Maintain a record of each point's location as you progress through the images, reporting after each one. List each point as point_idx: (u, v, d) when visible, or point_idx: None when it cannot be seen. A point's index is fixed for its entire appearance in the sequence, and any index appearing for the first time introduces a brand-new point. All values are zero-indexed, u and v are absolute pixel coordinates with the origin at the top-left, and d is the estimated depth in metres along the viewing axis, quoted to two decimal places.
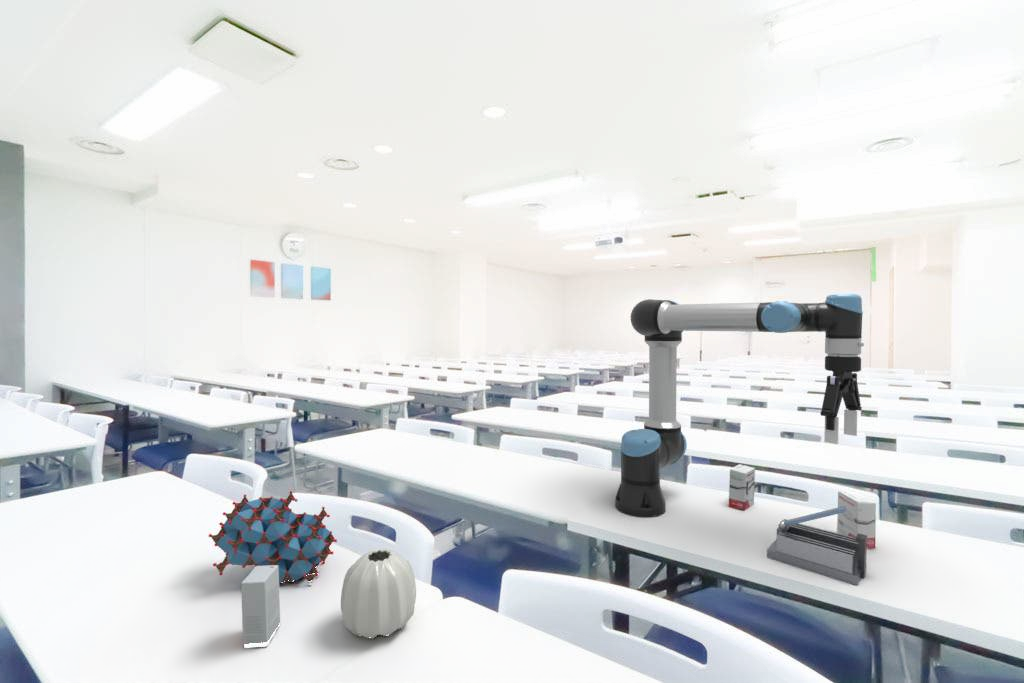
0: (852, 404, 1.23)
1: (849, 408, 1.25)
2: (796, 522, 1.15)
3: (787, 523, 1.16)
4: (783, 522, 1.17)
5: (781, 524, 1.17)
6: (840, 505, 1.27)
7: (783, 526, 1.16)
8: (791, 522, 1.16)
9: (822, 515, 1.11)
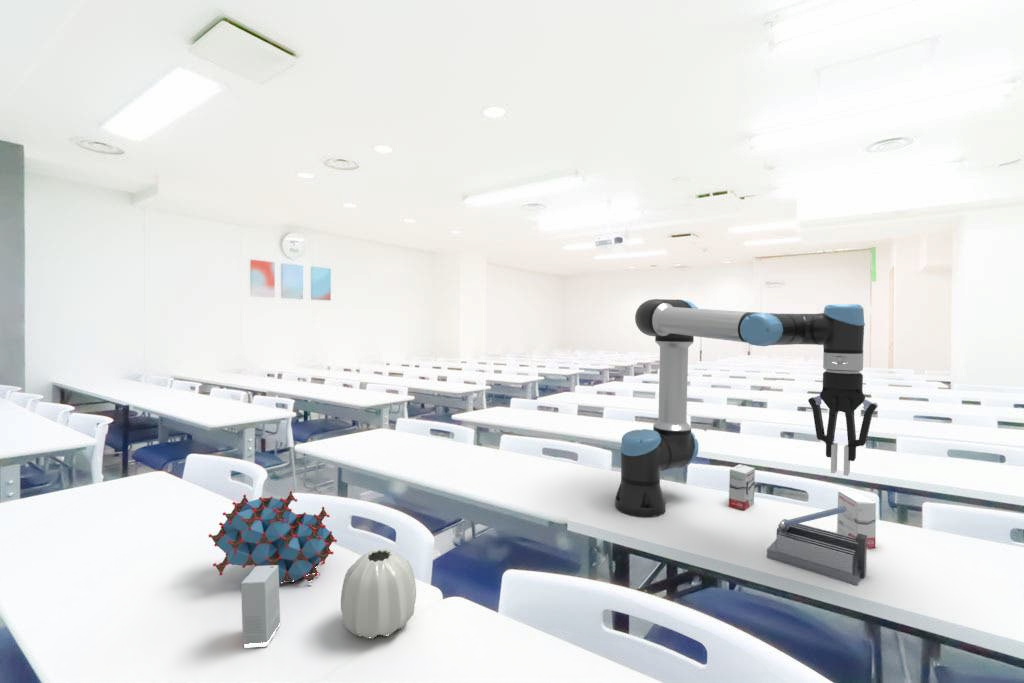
0: (848, 435, 1.08)
1: None
2: (796, 522, 1.15)
3: (787, 523, 1.16)
4: (783, 522, 1.17)
5: (781, 524, 1.17)
6: (840, 505, 1.27)
7: (783, 526, 1.16)
8: (791, 522, 1.16)
9: (822, 515, 1.11)
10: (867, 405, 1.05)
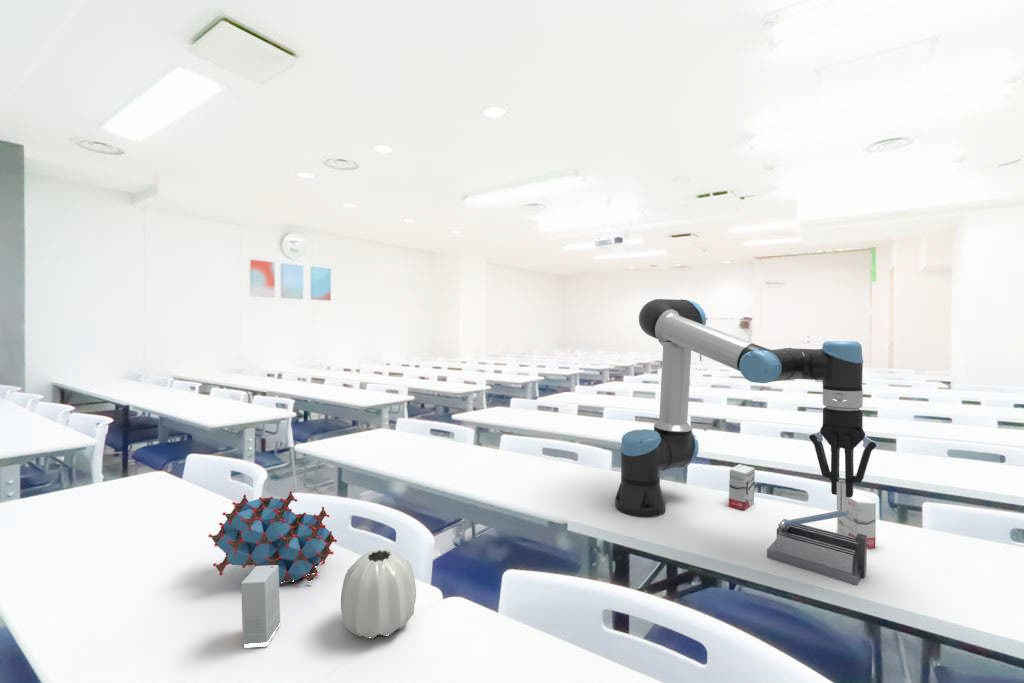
0: None
1: None
2: (796, 523, 1.15)
3: (787, 523, 1.16)
4: (783, 522, 1.17)
5: (781, 524, 1.17)
6: None
7: (783, 526, 1.16)
8: (791, 523, 1.16)
9: (823, 517, 1.11)
10: (867, 443, 1.05)
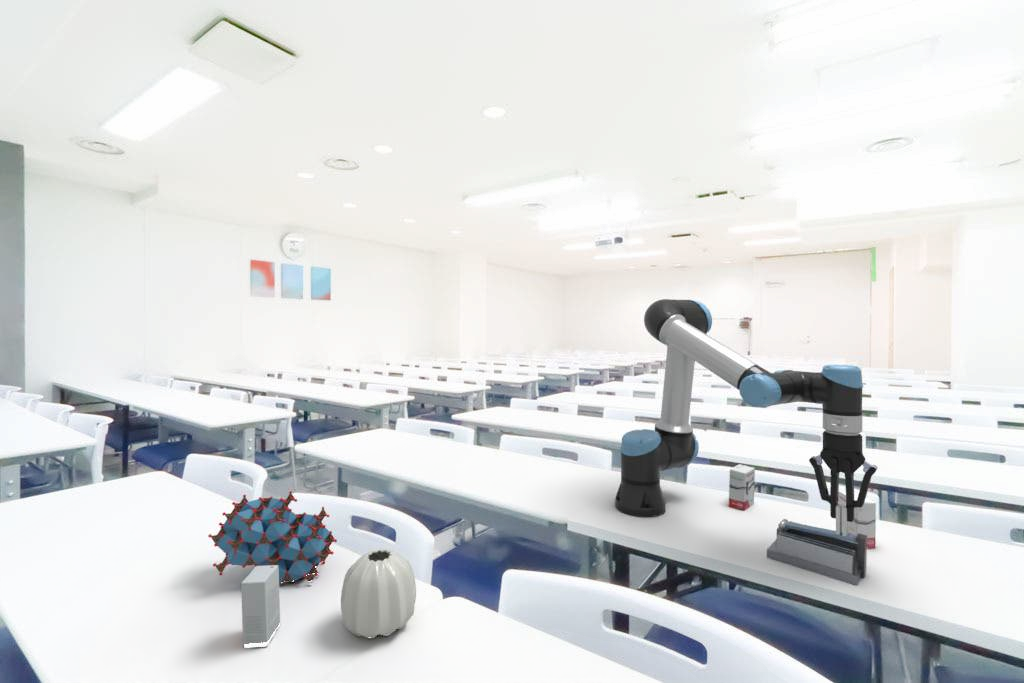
0: None
1: None
2: (798, 529, 1.15)
3: (788, 526, 1.16)
4: (784, 523, 1.17)
5: (782, 524, 1.16)
6: None
7: (783, 527, 1.16)
8: (793, 527, 1.15)
9: (828, 534, 1.10)
10: (867, 467, 1.05)
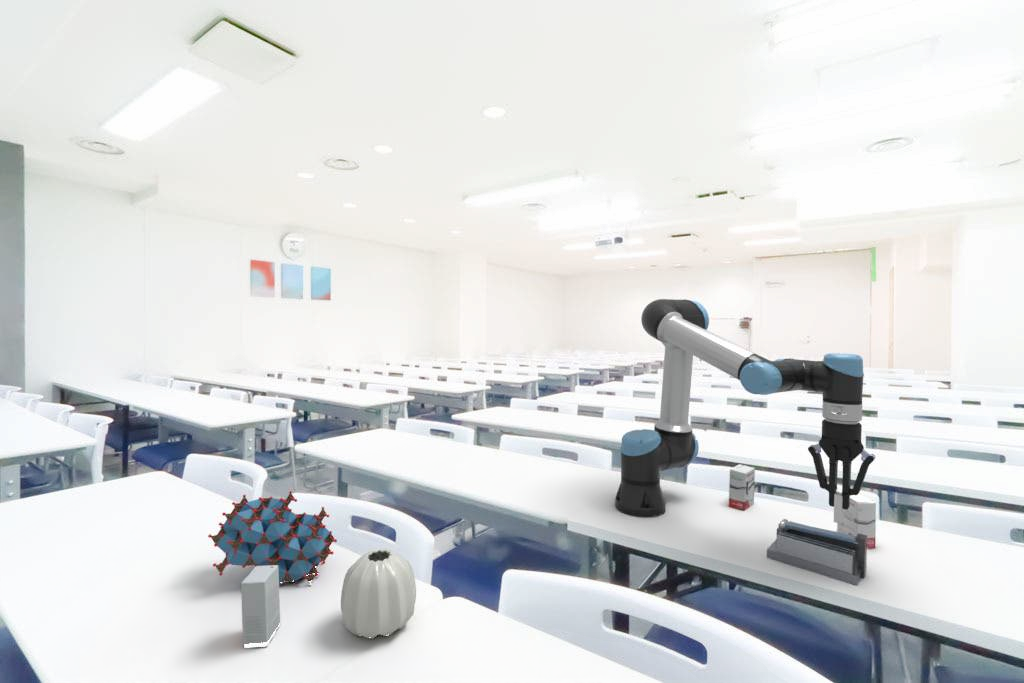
0: None
1: None
2: (798, 529, 1.15)
3: (788, 526, 1.16)
4: (784, 523, 1.17)
5: (782, 524, 1.16)
6: None
7: (783, 527, 1.16)
8: (793, 527, 1.15)
9: (828, 535, 1.10)
10: (865, 456, 1.06)
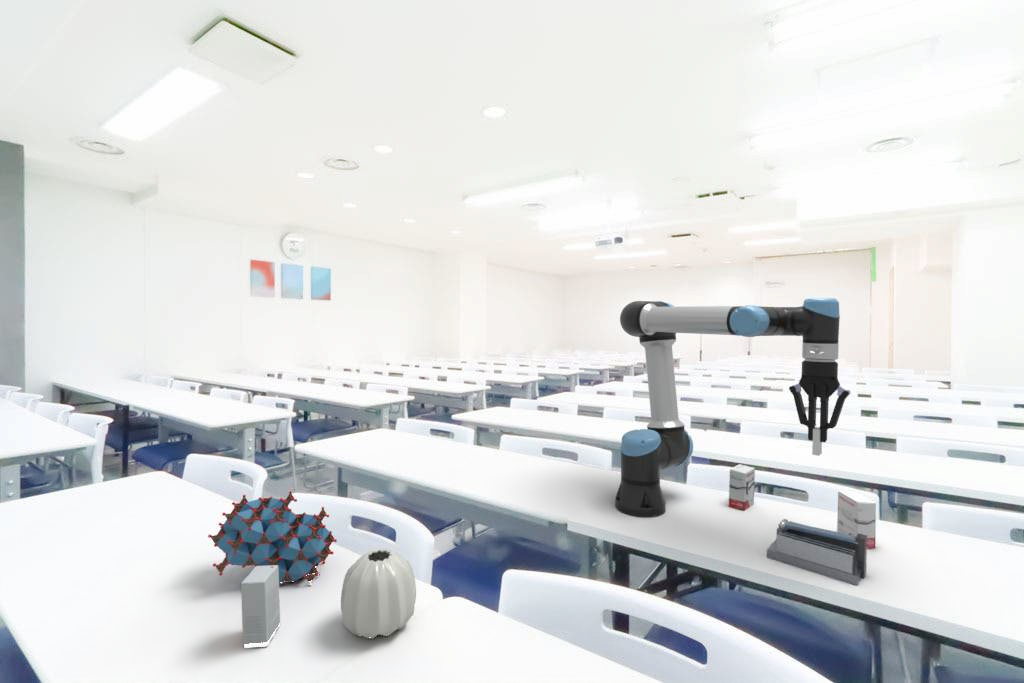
0: None
1: None
2: (798, 529, 1.15)
3: (788, 526, 1.16)
4: (784, 523, 1.17)
5: (782, 524, 1.16)
6: (840, 505, 1.27)
7: (783, 527, 1.16)
8: (793, 527, 1.15)
9: (828, 535, 1.10)
10: (841, 392, 1.14)
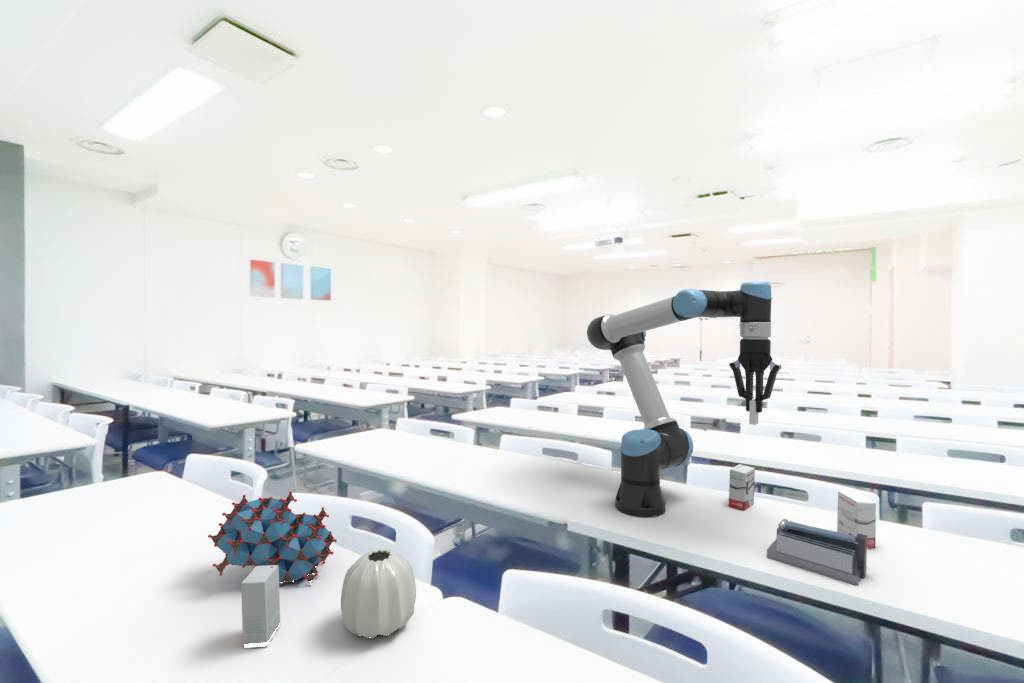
0: None
1: None
2: (798, 529, 1.15)
3: (788, 526, 1.16)
4: (784, 523, 1.17)
5: (782, 524, 1.16)
6: (840, 505, 1.27)
7: (783, 527, 1.16)
8: (793, 527, 1.15)
9: (828, 535, 1.10)
10: (772, 366, 1.26)
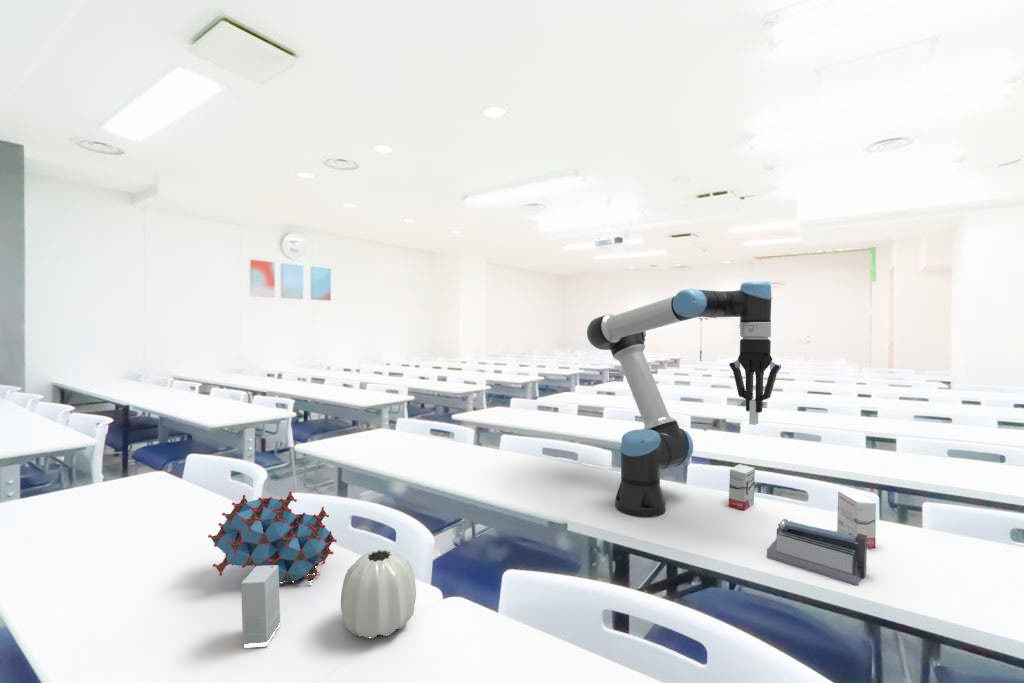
0: None
1: None
2: (798, 529, 1.15)
3: (788, 526, 1.16)
4: (784, 523, 1.17)
5: (782, 524, 1.16)
6: (840, 505, 1.27)
7: (783, 527, 1.16)
8: (793, 527, 1.15)
9: (828, 535, 1.10)
10: (772, 366, 1.26)
